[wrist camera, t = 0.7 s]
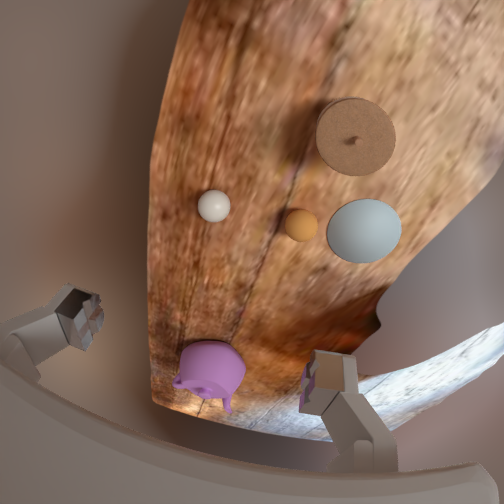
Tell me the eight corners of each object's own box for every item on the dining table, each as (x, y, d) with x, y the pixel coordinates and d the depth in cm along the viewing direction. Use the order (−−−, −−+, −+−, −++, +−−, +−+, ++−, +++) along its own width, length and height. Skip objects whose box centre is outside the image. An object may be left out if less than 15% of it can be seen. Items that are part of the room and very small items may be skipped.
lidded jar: (321, 161, 45) (324, 187, 38) (305, 97, 39) (306, 108, 32) (386, 152, 42) (402, 176, 34) (375, 86, 36) (393, 96, 28)
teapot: (168, 339, 85) (151, 381, 73) (228, 332, 77) (215, 382, 65) (206, 377, 96) (196, 415, 85) (262, 374, 88) (255, 416, 77)
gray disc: (341, 189, 47) (341, 190, 47) (412, 211, 47) (413, 211, 47) (317, 253, 56) (317, 254, 56) (382, 269, 56) (383, 269, 56)
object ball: (290, 199, 50) (288, 216, 46) (321, 207, 50) (322, 225, 46) (283, 226, 54) (280, 244, 49) (312, 233, 53) (312, 251, 49)
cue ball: (204, 181, 50) (194, 196, 46) (235, 187, 50) (228, 203, 46) (202, 208, 54) (192, 224, 50) (231, 214, 54) (224, 231, 50)
